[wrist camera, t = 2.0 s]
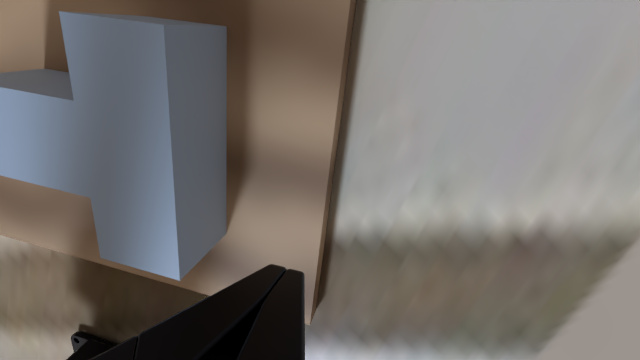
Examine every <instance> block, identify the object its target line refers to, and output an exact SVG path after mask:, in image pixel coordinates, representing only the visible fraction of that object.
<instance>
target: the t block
mask: <svg viewBox="0 0 640 360" xmlns="http://www.w3.org/2000/svg"><path fill="white" fill-rule="evenodd" d="M59 15H60V21H61V27H62V33H63V39H64V45H65V51H66V57H67V63H68V69H69V73H68V72H62V71H56V70H50V69H34V70H24V71H13V72H3V73H0V175H1V176H5V177H9V178H13V179H17V180H21V181H25V182H29V183H33V184H37V185H41V186H45V187H49V188H53V189H57V190H61V191H65V192H69V193H73V194H77V195H81V196H85V197H89V198H90V199H91V205H92V211H93V217H94V223H95V228H96V234H97V240H98V246H99V252H100V258H102V259H106V260H109V261H113V262H116V263H120V264H123V265H127V266H130V267H134V268H137V269H141V270H144V271H148V272H151V273H155V274H158V275H162V276H165V277H168V278H172V279H175V280H179V281H180V280H181V279H182V278H183V277H184V276H185V275H186V274H187V273H188V272H189V271H190V270H191V269H192V268H193V267H194V266H195V265H196V264H197V263H198V262H199V261H200V260H201V259H202V258H203V257H204V256H205V255H206V254H207V253H208V252H209V251H210V250H211V249H212V248H213V247H214V246H215V245H216V244H217V243H218V242H219V241H220V240H221V239H222V238H223V237H224V236H225V235H226V148H227V26H219V25H211V24H203V23H195V22H187V21H179V20H171V19H163V18H156V17H148V16H136V15H118V14H99V13H81V12H63V11H59Z"/></svg>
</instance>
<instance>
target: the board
mask: <svg viewBox="0 0 640 360" xmlns="http://www.w3.org/2000/svg"><path fill="white" fill-rule="evenodd" d="M355 7H356V0H0V73H3V72H13V71H24V70H34V69H50V70H56V71H62V72H68V73H69V69H68V63H67V57H66V51H65V45H64V39H63V33H62V27H61V21H60V15H59V11H63V12H81V13H99V14H118V15H136V16H148V17H156V18H163V19H171V20H179V21H187V22H195V23H203V24H211V25H219V26H227V148H226V235H225V236H224V237H223V238H222V239H221V240H220V241H219V242H218V243H217V244H216V245H215V246H214V247H213V248H212V249H211V250H210V251H209V252H208V253H207V254H206V255H205V256H204V257H203V258H202V259H201V260H200V261H199V262H198V263H197V264H196V265H195V266H194V267H193V268H192V269H191V270H190V271H189V272H188V273H187V274H186V275H185V276H184V277H183V278H182V279H181V280H180V281H179V280H175V279H172V278H168V277H165V276H162V275H158V274H155V273H151V272H148V271H144V270H141V269H137V268H134V267H130V266H127V265H123V264H120V263H116V262H113V261H109V260H106V259H102V258H100V252H99V246H98V240H97V234H96V228H95V223H94V217H93V211H92V205H91V199H90V198H89V197H85V196H81V195H77V194H73V193H69V192H65V191H61V190H57V189H53V188H49V187H45V186H41V185H37V184H33V183H29V182H25V181H21V180H17V179H13V178H9V177H5V176H1V175H0V235H3V236H6V237H10V238H13V239H17V240H20V241H24V242H27V243H30V244H34V245H37V246H41V247H44V248H48V249H51V250H54V251H58V252H61V253H65V254H68V255H72V256H75V257H78V258H82V259H85V260H89V261H92V262H96V263H99V264H102V265H106V266H109V267H113V268H116V269H120V270H123V271H126V272H130V273H133V274H137V275H140V276H144V277H147V278H150V279H154V280H157V281H161V282H164V283H168V284H171V285H174V286H178V287H181V288H185V289H188V290H192V291H195V292H198V293H202V294H205V295H209V296H211V295H213V294H215V293H217V292H219V291H220V290H222V289H224V288H226V287H228V286H230V285H232V284H234V283H235V282H237V281H239V280H241V279H243V278H245V277H247V276H249V275H250V274H252V273H254V272H256V271H258V270H260V269H262V268H264V267H265V266H267V265H269V264H275V265H279V266H283V267H286V269H294V270H298V271H302V272H303V273H304V275H305V324H308V325H310V324H311V321H312V319H313V316H314V313H315V311H316V305H317V298H318V290H319V282H320V275H321V267H322V260H323V252H324V244H325V237H326V229H327V221H328V214H329V206H330V198H331V191H332V183H333V175H334V168H335V160H336V152H337V145H338V137H339V129H340V122H341V114H342V106H343V99H344V91H345V84H346V76H347V68H348V61H349V53H350V45H351V38H352V30H353V22H354V15H355Z"/></svg>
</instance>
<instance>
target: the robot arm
mask: <svg viewBox="0 0 640 360" xmlns="http://www.w3.org/2000/svg"><path fill="white" fill-rule="evenodd" d="M71 341H72V345H73V350H74V353H73V354H72V355H71V356H70V357H69V358H68V359H66V360H305V275H304V273H303V272H302V271H298V270H294V269H286V267H283V266H279V265H275V264H269V265H267V266H265V267H264V268H262V269H260V270H258V271H256V272H254V273H252V274H250V275H249V276H247V277H245V278H243V279H241V280H239V281H237V282H235V283H234V284H232V285H230V286H228V287H226V288H224V289H222V290H220V291H219V292H217V293H215V294H213V295H211V296H209V297H207V298H205V299H204V300H202V301H200V302H198V303H196V304H194V305H192V306H190V307H189V308H187V309H185V310H183V311H181V312H179V313H177V314H175V315H174V316H172V317H170V318H168V319H166V320H164V321H162V322H161V323H159V324H157V325H155V326H153V327H151V328H149V329H147V330H146V331H144V332H142V333H140V334H139V335H138V337H137V336H134V337H132V338H130V339H128V340H127V341H125V342H123V343H121V344H119V345H117V344H114V343H111V342H108V341H105V340H102V339H100V338H97V337H94V336H91V335H88V334H85V333H82V332H76V333H74V334H73V335H72V336H71Z"/></svg>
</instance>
